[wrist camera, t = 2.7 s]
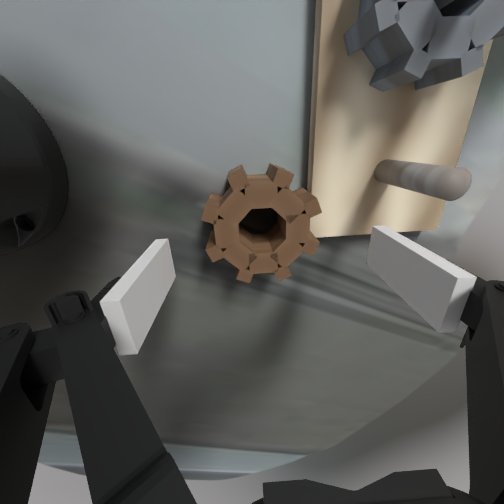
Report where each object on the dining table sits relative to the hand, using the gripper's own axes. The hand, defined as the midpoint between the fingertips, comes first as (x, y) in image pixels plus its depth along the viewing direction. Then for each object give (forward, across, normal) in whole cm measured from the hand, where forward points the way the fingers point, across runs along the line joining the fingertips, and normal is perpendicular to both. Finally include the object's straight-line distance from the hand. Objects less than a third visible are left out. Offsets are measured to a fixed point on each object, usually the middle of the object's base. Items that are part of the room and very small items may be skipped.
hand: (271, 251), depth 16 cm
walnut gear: (+7, 0, 0) cm, 7 cm away
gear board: (+7, +10, +9) cm, 16 cm away
